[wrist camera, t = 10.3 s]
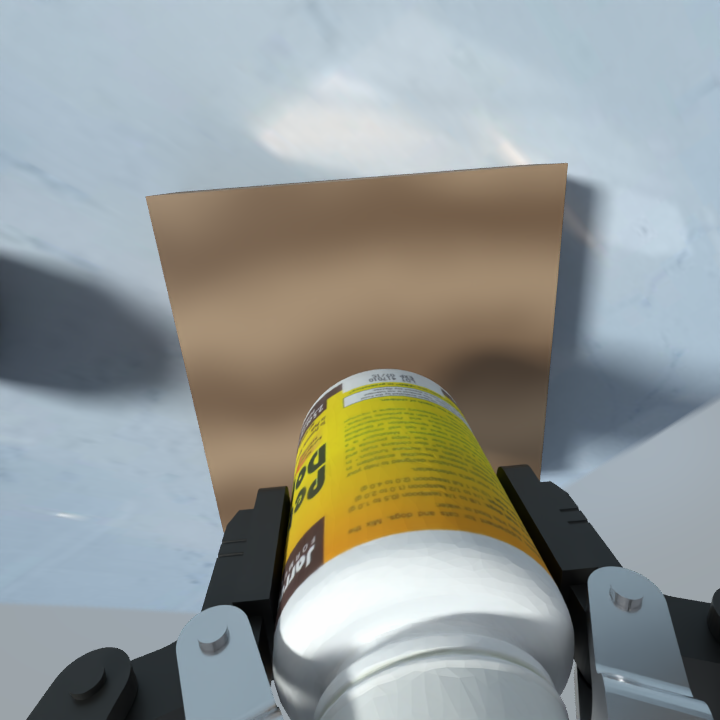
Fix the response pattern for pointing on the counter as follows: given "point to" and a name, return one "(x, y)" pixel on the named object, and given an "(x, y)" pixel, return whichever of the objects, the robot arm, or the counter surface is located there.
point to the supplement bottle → (410, 570)
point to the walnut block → (362, 305)
